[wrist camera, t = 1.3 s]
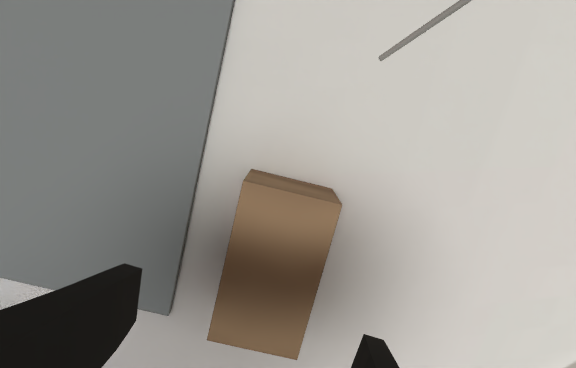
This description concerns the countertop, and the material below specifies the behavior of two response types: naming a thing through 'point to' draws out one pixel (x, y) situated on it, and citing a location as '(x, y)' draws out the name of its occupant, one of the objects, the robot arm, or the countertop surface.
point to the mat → (104, 136)
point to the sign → (424, 28)
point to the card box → (273, 264)
